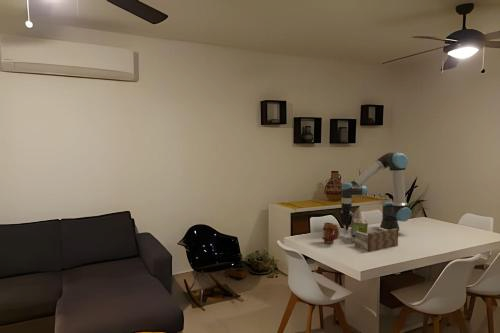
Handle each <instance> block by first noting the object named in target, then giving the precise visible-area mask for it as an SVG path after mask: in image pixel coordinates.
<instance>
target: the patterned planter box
mask: <svg viewBox="0 0 500 333" xmlns="http://www.w3.org/2000/svg"><path fill="white" fill-rule="evenodd" d="M354 246H355V247H357V248H361V249H362V250H366V251H367V252H369V253H372V252H374V251H375V252H376V251H381V250H384V249H390V248H394V247H398V246H399V231H398V229H396V228H395V229H390V230H387V229H383V228H380V227H377V231H374V232H369V233H368V232H367V234H365V233H362V232H355V242H354Z"/></svg>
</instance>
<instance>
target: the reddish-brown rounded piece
mask: <svg viewBox="0 0 500 333" xmlns="http://www.w3.org/2000/svg"><path fill="white" fill-rule="evenodd" d="M322 227H323V228H322V230H323V237H322V240H323V242H324V243H325V244H328V245H329V244H333V243H335V242H334V241H335V240H338V237H339V234H340V232H339V226H338V225H337V224H335V223H332V222H324V224H323V226H322Z"/></svg>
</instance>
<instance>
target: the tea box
mask: <svg viewBox="0 0 500 333" xmlns="http://www.w3.org/2000/svg"><path fill="white" fill-rule="evenodd" d="M368 225H369V224H368V222H367V220H366V219H365V218H364V219H362V218H355V217H354V218H353V217H352V221H351V230H350V238H351V241H352V243H355V232H362V233H365V234H368Z"/></svg>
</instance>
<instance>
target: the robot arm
mask: <svg viewBox="0 0 500 333" xmlns="http://www.w3.org/2000/svg"><path fill="white" fill-rule="evenodd" d="M408 164H409V158H408V156H407V155H406V154H404V153H402V152H387V153H385V154H383V155H382V156H380V157H379V158H377V159H376V160H375V162H374V163H373V164H372V165H371V166H369V167H368V168H367V169H365V170H364V171H363V172H362V173H361V174H359V175H358V176H357V177H356V178H354V179H353V180H351V181H350V182H343V183H342V184H341V210H339V214H340V220H341V224H343V234H345V235H347V234H349V226H352V218H353V217H354V213H353V212H352V208H353V206H352V204H353V202H352V201H353V200H352V199H353V196H366V195H367V193H368V187H367V186H366V185H365V184H366V183H367V182H368V181H370V180H371V179H373V177H374V176H376V175H377V174H378V173H379V172H381V171H385V170H386V169H388V168H389V172H390V173H391V180H392V194H393V201H389V202H387V201H386V202H385V201H384V202H383V203H382V217H381V218H382V220H381V222H380V225H379V228H383V229H387V230H390V229H395V228H396V229H398V232H399V231H400V226H399V223H398V222H405V223H406V222H407V221H408V220H409V219H411V217H412V210H411V209H410V208H409V204H408V202H407V201H406V188H405V187H406V186H405V172H406V167H407V166H408Z"/></svg>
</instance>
